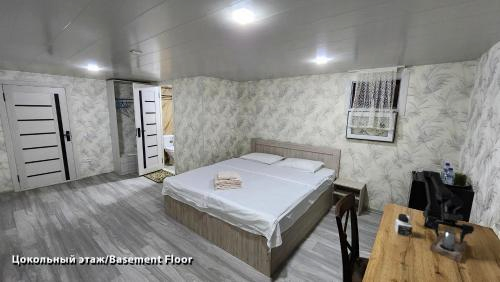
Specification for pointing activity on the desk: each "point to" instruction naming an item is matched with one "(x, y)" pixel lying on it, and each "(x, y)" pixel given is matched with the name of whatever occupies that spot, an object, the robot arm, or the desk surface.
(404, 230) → the medicine bottle
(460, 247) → the bore block
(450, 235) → the steel peg
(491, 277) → the desk surface
